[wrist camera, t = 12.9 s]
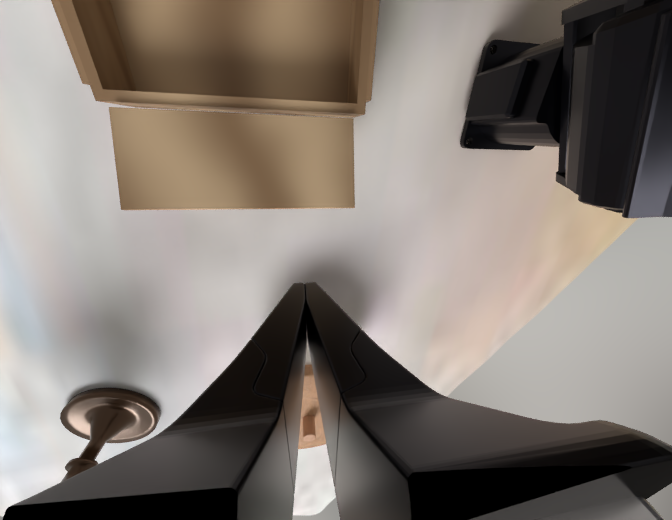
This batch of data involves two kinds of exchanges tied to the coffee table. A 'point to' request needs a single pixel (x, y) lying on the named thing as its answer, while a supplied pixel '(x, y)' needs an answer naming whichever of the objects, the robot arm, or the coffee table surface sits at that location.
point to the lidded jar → (310, 411)
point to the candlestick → (107, 421)
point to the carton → (226, 53)
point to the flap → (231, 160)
